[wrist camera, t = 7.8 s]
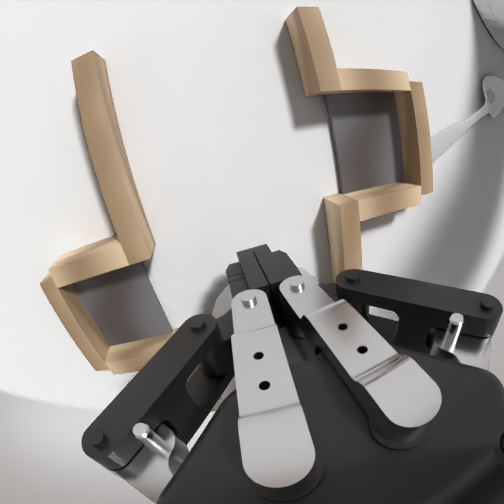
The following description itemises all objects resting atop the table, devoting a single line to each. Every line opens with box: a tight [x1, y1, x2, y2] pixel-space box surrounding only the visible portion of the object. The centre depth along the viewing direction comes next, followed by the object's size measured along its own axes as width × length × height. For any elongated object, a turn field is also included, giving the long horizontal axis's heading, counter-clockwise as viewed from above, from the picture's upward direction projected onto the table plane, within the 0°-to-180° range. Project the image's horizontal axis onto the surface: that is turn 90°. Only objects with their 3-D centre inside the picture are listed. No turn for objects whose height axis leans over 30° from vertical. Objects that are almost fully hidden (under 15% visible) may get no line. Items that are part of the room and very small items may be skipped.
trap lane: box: [40, 7, 433, 412], centre depth 14 cm, size 25×23×3 cm
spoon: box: [430, 76, 504, 163], centre depth 15 cm, size 4×21×2 cm, turn 127°
